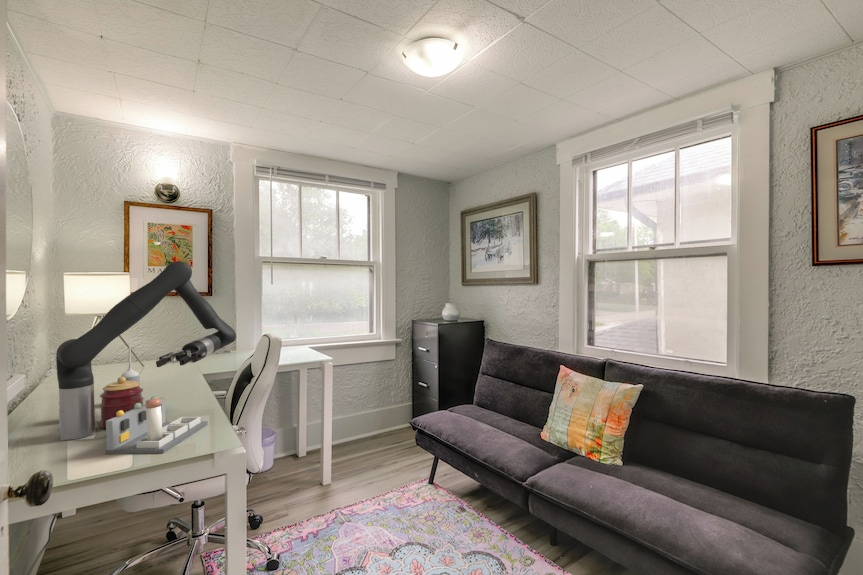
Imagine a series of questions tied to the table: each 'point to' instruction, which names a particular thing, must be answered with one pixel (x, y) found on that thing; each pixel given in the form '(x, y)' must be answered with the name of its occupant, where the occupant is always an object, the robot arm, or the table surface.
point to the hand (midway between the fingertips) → (168, 363)
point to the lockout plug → (154, 419)
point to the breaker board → (131, 431)
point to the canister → (119, 398)
